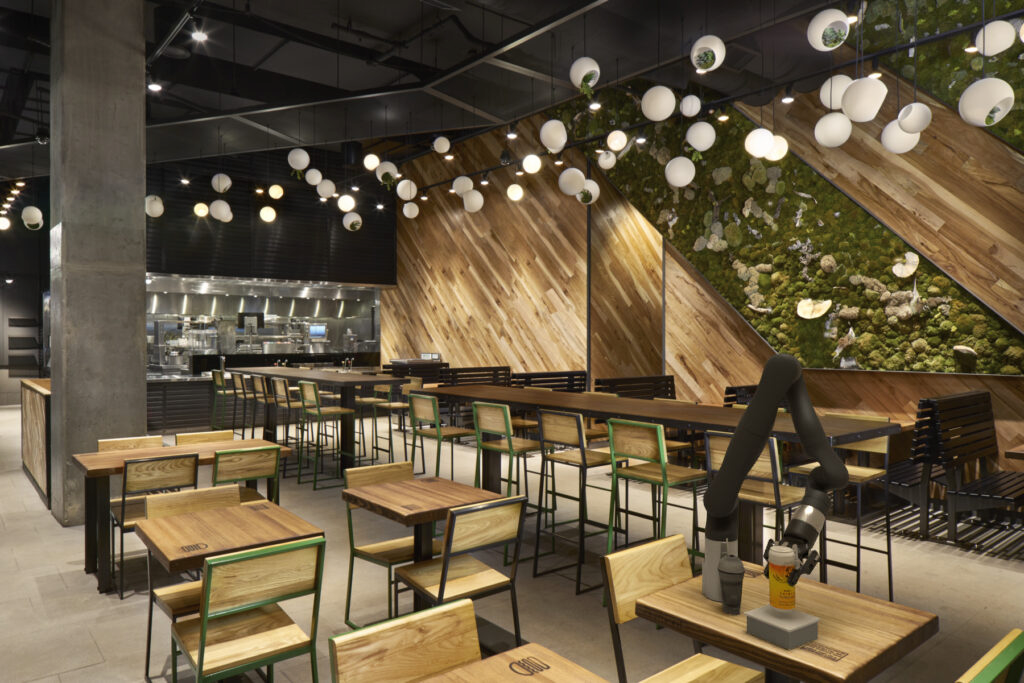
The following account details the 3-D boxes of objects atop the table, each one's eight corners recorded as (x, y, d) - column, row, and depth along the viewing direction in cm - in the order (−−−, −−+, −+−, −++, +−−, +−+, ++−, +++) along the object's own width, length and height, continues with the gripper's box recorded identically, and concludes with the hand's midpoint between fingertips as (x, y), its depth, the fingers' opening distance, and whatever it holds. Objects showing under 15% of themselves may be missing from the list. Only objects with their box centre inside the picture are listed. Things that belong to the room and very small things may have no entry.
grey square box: (743, 632, 168) (743, 612, 168) (774, 621, 175) (774, 602, 175) (789, 651, 157) (789, 630, 157) (820, 638, 164) (820, 618, 164)
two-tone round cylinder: (782, 614, 162) (781, 553, 163) (764, 606, 168) (763, 547, 168) (801, 610, 165) (799, 550, 165) (782, 602, 170) (781, 544, 171)
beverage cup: (738, 619, 176) (738, 544, 177) (712, 612, 181) (712, 539, 182) (749, 611, 182) (749, 539, 182) (724, 604, 186) (724, 534, 187)
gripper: (774, 512, 177) (746, 564, 170) (824, 523, 165) (797, 580, 158) (786, 529, 180) (760, 581, 173) (837, 541, 168) (810, 598, 161)
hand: (778, 580), depth 165 cm, fingers closed on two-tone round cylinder, 6 cm apart
